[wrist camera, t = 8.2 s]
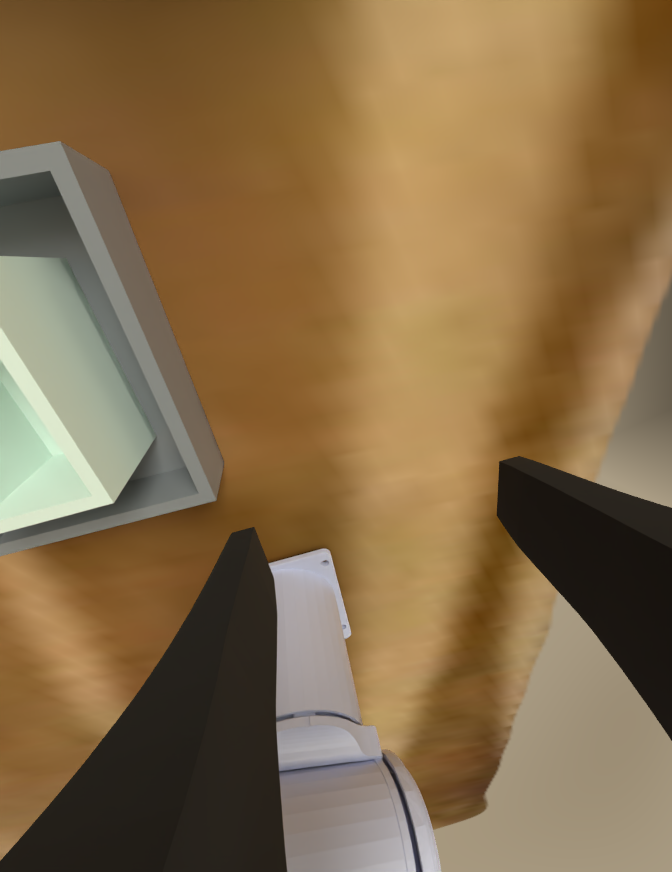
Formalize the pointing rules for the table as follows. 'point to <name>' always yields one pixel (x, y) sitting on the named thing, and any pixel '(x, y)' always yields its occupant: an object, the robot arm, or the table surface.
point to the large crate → (110, 331)
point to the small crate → (60, 399)
